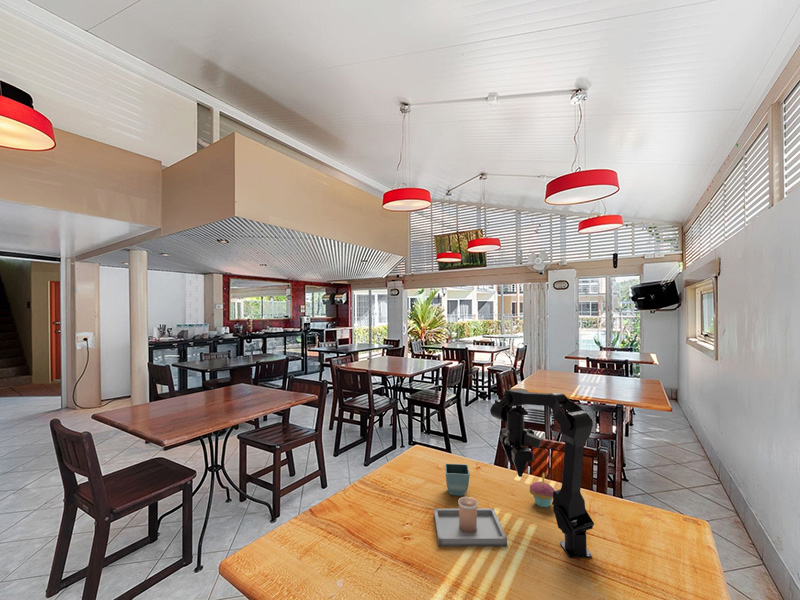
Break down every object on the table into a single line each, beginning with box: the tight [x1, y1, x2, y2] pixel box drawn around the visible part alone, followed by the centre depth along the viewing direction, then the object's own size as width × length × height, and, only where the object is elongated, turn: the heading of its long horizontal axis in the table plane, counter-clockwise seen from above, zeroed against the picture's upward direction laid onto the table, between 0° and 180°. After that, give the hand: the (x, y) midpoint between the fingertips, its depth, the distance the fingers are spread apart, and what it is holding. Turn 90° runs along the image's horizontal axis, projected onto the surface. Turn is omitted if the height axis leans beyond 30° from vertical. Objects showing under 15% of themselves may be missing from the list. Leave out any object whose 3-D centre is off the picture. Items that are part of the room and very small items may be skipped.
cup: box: [457, 496, 479, 533], centre depth 115 cm, size 6×6×8 cm
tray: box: [433, 507, 508, 547], centre depth 115 cm, size 16×20×2 cm
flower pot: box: [444, 463, 471, 497], centre depth 138 cm, size 9×9×9 cm
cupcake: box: [529, 472, 556, 508], centre depth 130 cm, size 9×8×12 cm
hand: (516, 470), depth 127 cm, fingers open, 9 cm apart
